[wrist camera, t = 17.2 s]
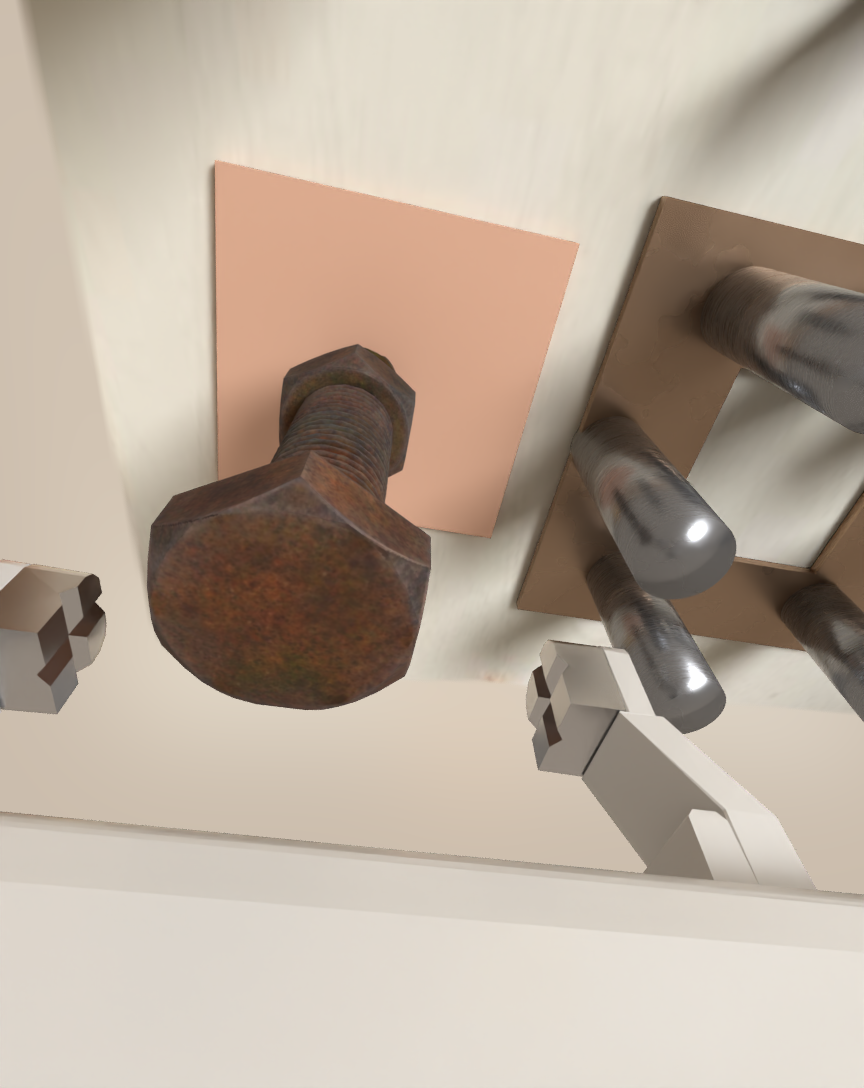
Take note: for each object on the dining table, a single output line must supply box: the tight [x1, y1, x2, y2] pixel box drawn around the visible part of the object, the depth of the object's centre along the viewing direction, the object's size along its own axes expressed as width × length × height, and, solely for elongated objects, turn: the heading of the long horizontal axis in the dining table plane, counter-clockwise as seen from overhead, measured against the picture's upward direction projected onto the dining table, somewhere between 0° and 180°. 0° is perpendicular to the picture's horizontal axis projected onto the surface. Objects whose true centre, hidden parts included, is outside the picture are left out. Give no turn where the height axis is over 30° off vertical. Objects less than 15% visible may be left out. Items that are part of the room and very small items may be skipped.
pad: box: [215, 160, 579, 538], centre depth 23 cm, size 13×13×1 cm
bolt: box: [147, 344, 431, 710], centre depth 17 cm, size 6×5×15 cm
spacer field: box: [517, 196, 864, 734], centre depth 23 cm, size 20×19×9 cm
